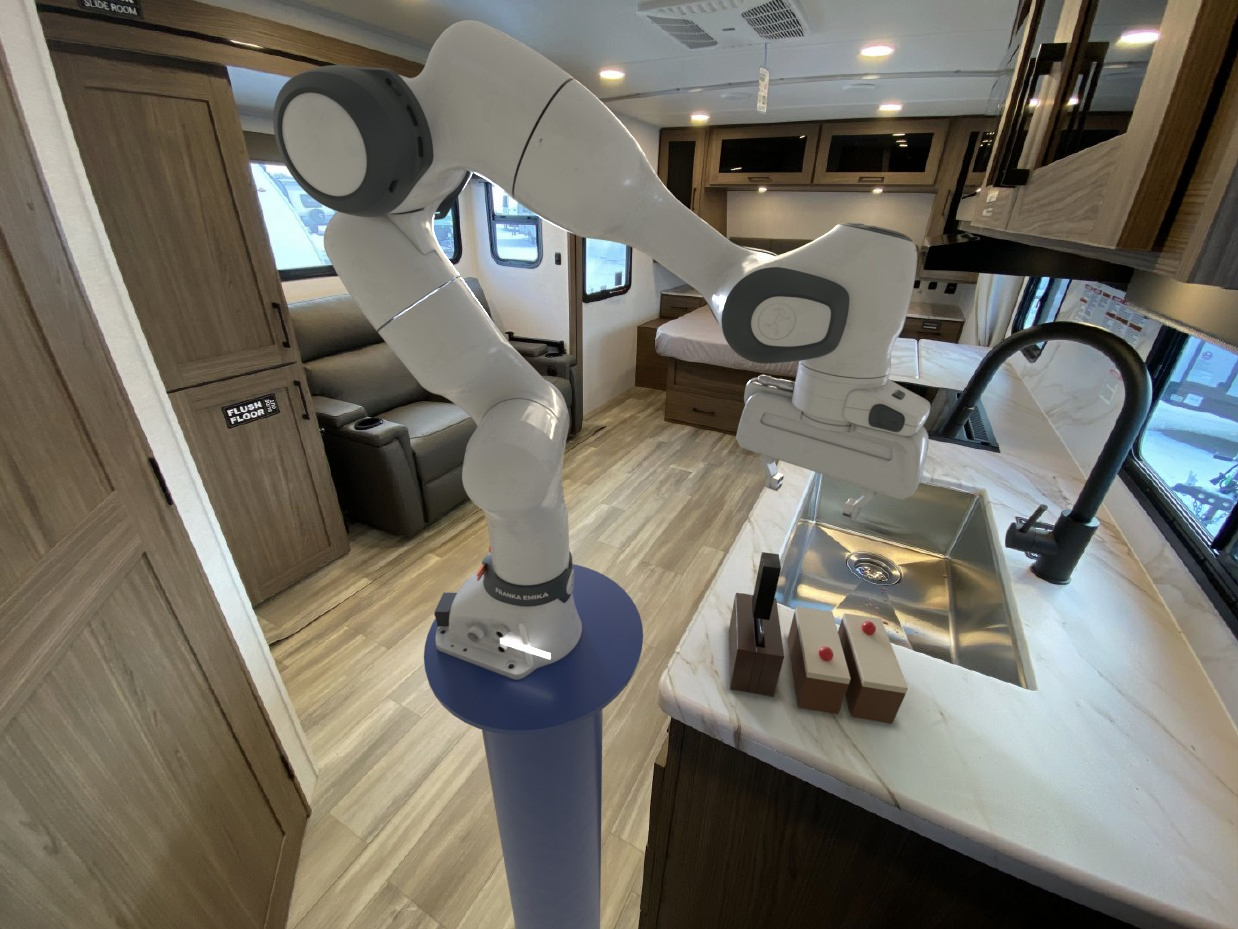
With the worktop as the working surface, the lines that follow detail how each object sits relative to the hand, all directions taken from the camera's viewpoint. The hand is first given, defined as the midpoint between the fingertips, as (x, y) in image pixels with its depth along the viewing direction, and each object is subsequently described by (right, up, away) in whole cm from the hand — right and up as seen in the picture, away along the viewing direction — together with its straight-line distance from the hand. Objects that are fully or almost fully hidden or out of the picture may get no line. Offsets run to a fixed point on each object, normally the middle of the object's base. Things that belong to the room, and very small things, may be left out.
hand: (810, 501), depth 59 cm
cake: (+8, -26, +11) cm, 30 cm away
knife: (-4, -25, +14) cm, 28 cm away
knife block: (-4, -25, +14) cm, 28 cm away
